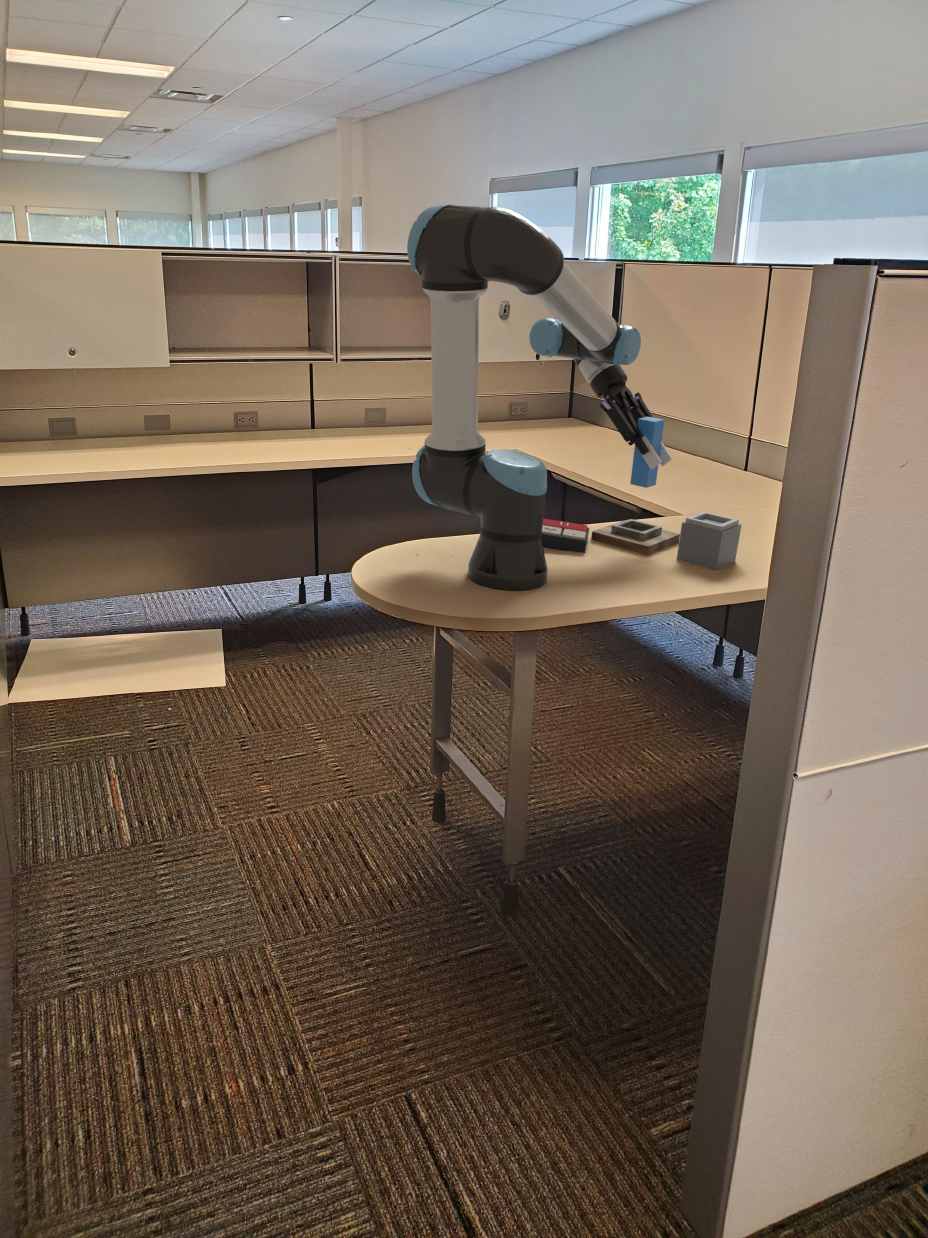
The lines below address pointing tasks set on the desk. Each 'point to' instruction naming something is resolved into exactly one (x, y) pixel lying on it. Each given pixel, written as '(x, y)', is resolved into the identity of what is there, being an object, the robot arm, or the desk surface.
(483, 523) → the robot arm
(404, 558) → the desk surface
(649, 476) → the plug
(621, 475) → the desk surface
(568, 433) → the desk surface
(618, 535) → the lower socket plate
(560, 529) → the black and red block
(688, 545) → the upper socket block
